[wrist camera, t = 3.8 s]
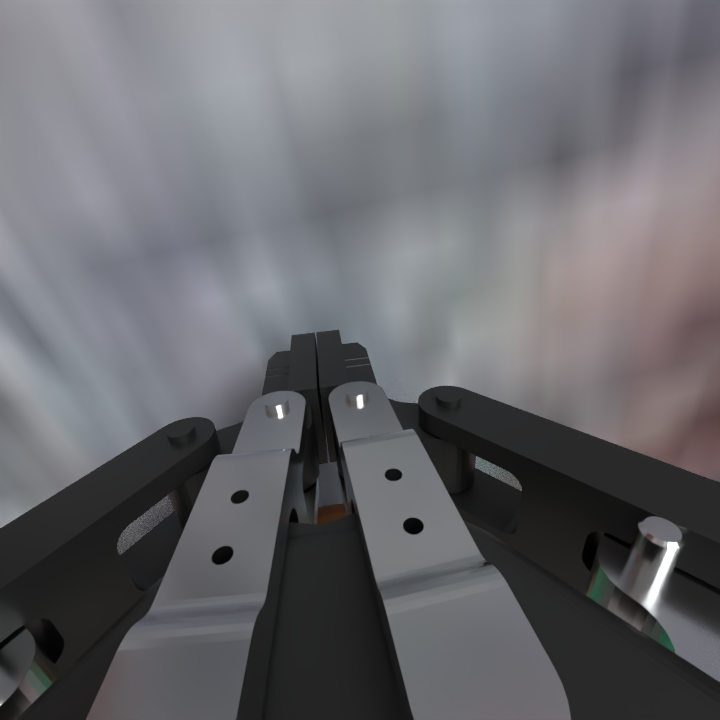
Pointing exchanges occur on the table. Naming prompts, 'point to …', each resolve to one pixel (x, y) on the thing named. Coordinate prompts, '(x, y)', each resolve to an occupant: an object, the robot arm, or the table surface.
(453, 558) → the robot arm
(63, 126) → the table surface
